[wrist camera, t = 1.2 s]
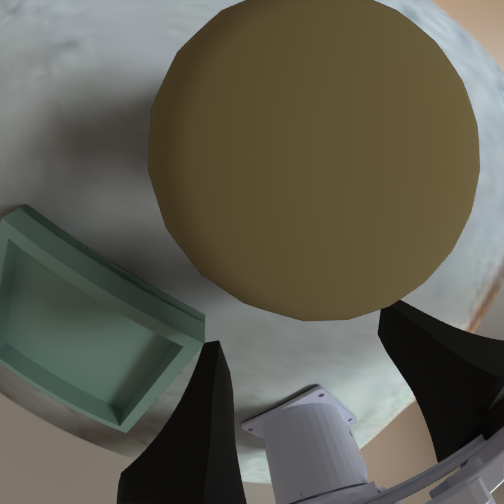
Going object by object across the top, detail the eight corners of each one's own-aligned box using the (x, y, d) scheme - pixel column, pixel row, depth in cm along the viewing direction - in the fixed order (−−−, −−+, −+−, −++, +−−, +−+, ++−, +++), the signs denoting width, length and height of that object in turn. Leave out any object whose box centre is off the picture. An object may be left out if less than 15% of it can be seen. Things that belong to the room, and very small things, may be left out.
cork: (198, 204, 14) (147, 400, 4) (188, 82, 11) (78, -49, 1) (320, 195, 14) (481, 335, 4) (316, 77, 11) (508, 11, 1)
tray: (205, 315, 16) (204, 343, 14) (130, 410, 19) (126, 433, 17) (26, 204, 12) (1, 217, 10) (3, 336, 15) (-10, 355, 13)
